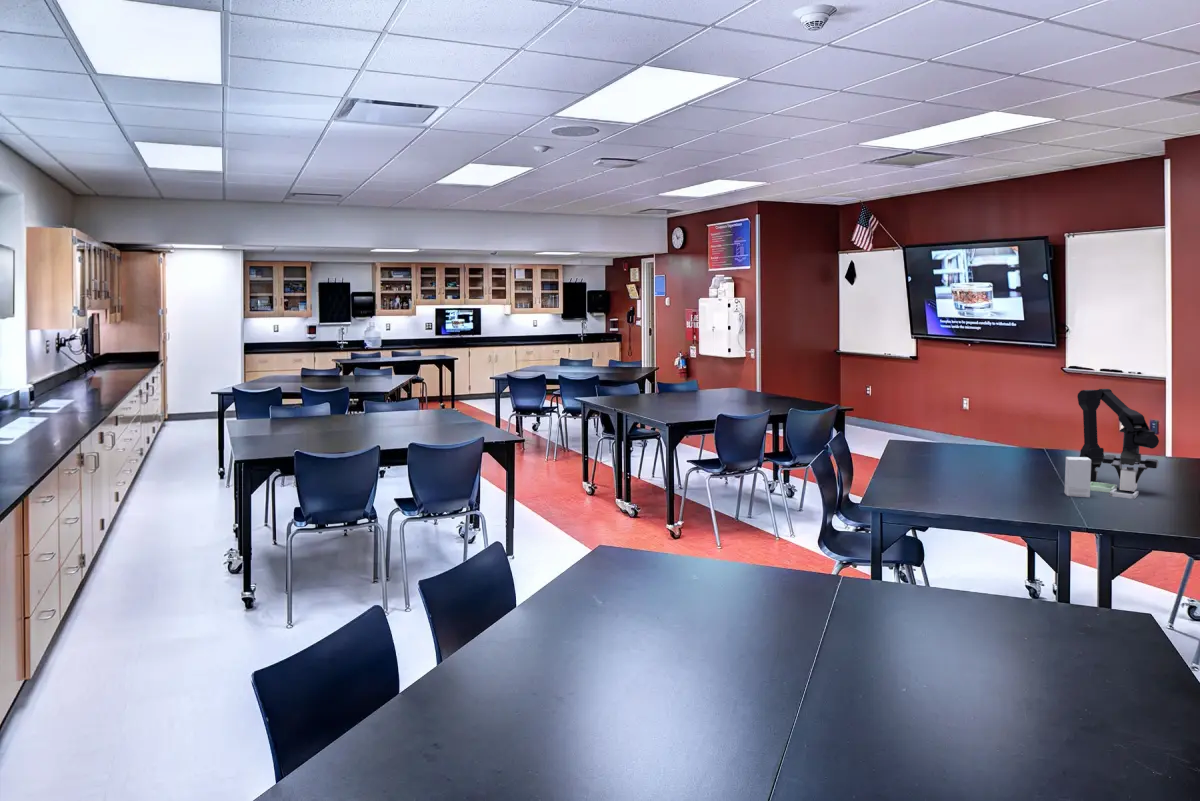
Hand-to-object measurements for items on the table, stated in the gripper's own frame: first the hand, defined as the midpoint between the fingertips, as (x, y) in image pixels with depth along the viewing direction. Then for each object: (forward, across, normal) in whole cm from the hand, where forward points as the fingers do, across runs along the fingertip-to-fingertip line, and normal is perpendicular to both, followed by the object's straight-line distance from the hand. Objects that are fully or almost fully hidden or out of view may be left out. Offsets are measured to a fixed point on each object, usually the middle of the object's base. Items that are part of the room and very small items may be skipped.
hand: (1128, 482), depth 341 cm
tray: (+4, -9, -3) cm, 10 cm away
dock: (+4, 0, -10) cm, 11 cm away
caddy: (+3, 0, 0) cm, 3 cm away
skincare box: (+4, -14, -22) cm, 27 cm away
